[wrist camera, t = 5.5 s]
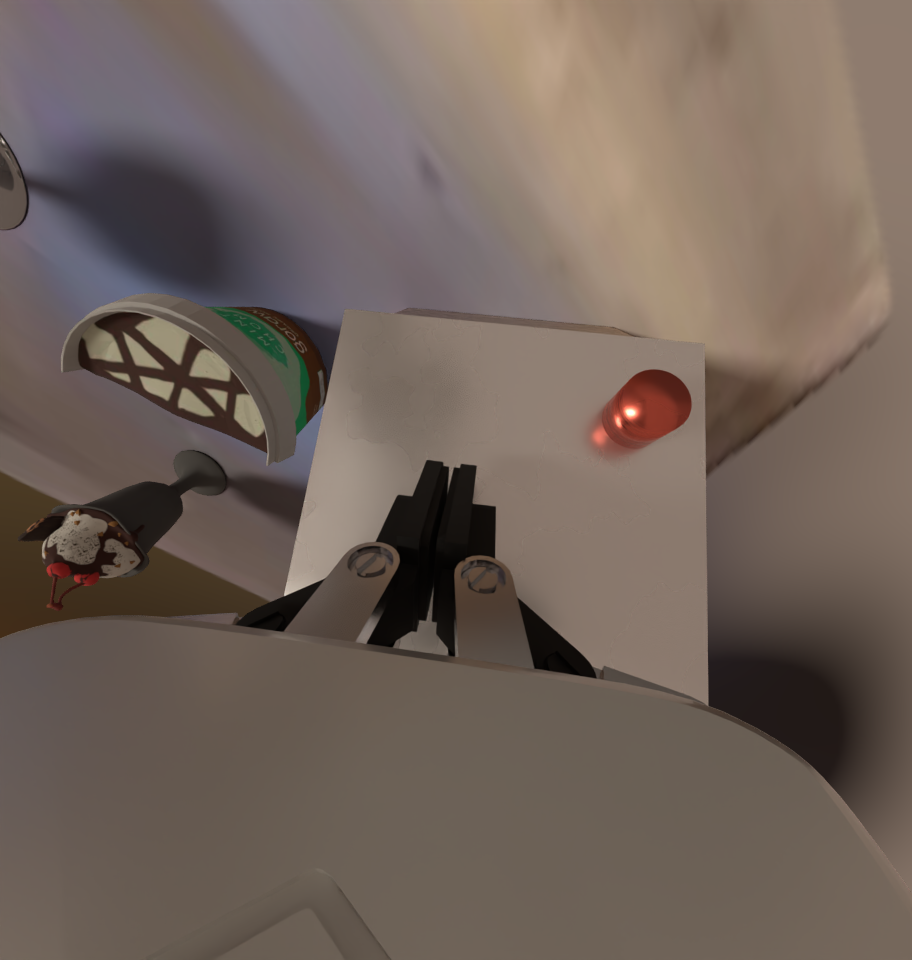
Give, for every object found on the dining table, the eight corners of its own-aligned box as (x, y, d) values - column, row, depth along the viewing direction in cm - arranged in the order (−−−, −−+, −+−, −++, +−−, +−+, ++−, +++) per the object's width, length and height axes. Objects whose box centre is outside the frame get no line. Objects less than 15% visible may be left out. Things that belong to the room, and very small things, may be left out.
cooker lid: (354, 326, 16) (328, 275, 13) (685, 360, 15) (739, 313, 12) (244, 864, 12) (170, 967, 9) (685, 944, 11) (764, 1086, 8)
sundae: (247, 499, 35) (99, 633, 22) (188, 503, 36) (15, 633, 23) (215, 438, 31) (20, 553, 19) (151, 444, 33) (-75, 557, 20)
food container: (366, 341, 26) (301, 375, 17) (342, 411, 29) (276, 470, 20) (199, 252, 24) (33, 240, 15) (192, 336, 27) (50, 366, 18)
